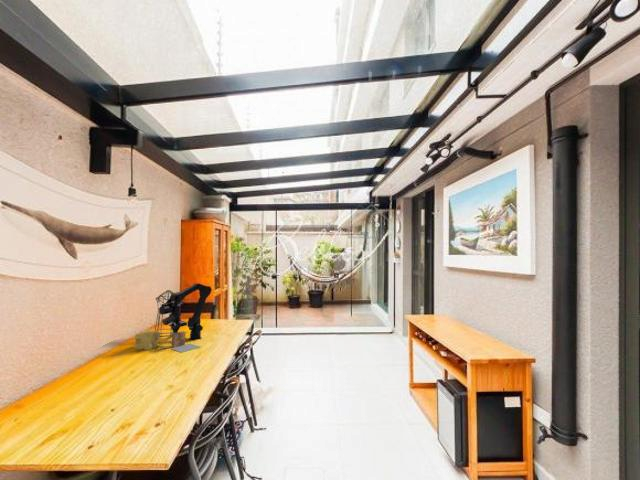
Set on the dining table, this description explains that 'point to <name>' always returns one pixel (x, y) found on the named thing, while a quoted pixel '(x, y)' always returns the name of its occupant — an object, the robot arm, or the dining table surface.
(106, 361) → the dining table surface
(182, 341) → the walnut slab
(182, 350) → the grey mat
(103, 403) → the dining table surface
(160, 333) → the geometric lantern
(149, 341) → the cheese
